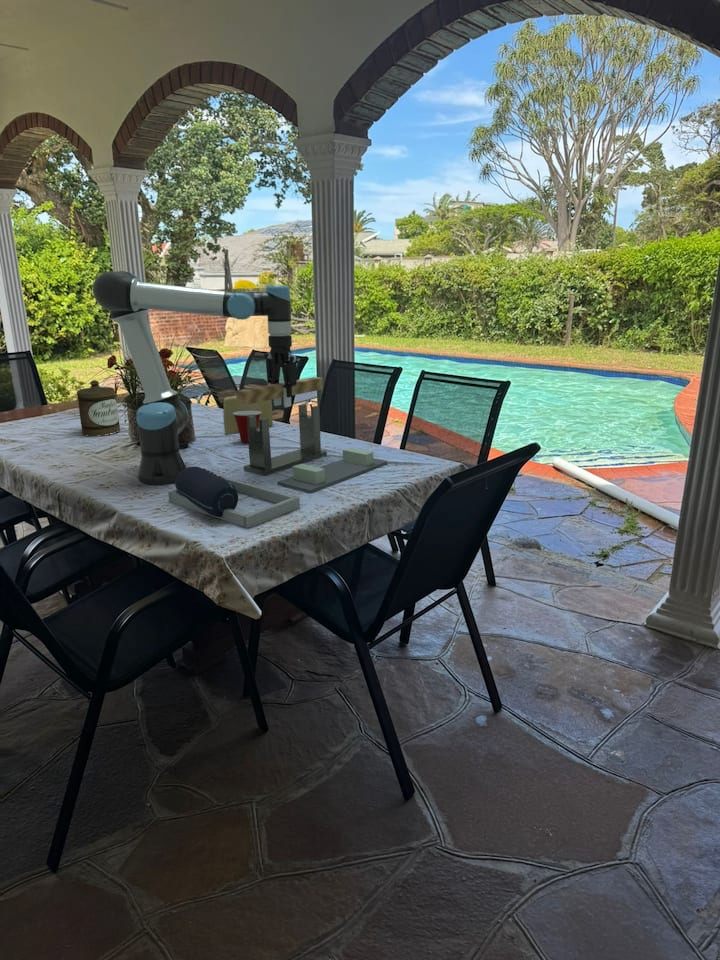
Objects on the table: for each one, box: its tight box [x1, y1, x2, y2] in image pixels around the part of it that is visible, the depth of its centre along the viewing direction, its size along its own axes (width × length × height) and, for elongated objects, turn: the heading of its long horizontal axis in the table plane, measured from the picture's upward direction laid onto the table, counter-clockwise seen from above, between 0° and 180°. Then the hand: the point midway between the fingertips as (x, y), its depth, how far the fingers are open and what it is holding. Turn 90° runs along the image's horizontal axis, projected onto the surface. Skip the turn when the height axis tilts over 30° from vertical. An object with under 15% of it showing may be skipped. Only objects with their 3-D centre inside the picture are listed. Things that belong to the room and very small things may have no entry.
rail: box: [235, 376, 324, 405], centre depth 213 cm, size 36×4×4 cm, turn 141°
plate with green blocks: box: [276, 447, 388, 494], centre depth 207 cm, size 38×14×5 cm, turn 141°
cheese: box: [222, 395, 274, 435], centre depth 268 cm, size 22×10×15 cm, turn 139°
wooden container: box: [76, 379, 121, 437], centre depth 265 cm, size 15×15×22 cm
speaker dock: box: [167, 475, 301, 529], centre depth 181 cm, size 19×34×3 cm, turn 51°
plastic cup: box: [233, 411, 261, 444], centre depth 248 cm, size 11×11×12 cm
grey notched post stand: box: [243, 403, 328, 477], centre depth 218 cm, size 30×10×18 cm, turn 141°
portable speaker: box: [174, 465, 239, 517], centre depth 178 cm, size 25×10×10 cm, turn 38°
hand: (282, 405), depth 215 cm, fingers closed on rail, 4 cm apart
